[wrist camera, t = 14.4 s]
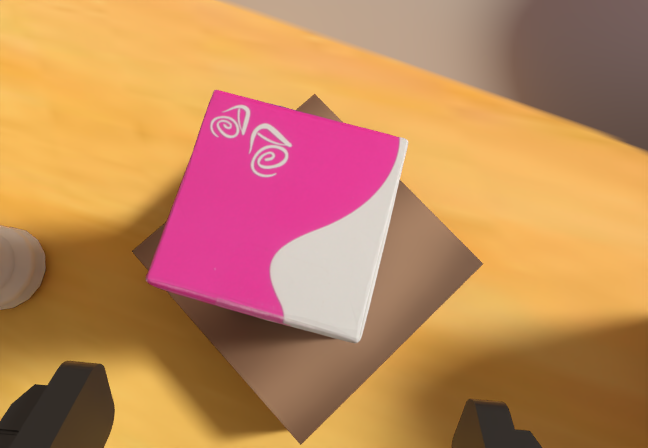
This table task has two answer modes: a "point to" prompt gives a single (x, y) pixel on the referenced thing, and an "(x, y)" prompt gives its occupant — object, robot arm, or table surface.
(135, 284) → the table surface
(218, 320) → the walnut block
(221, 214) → the supplement box
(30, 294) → the rook chess piece
